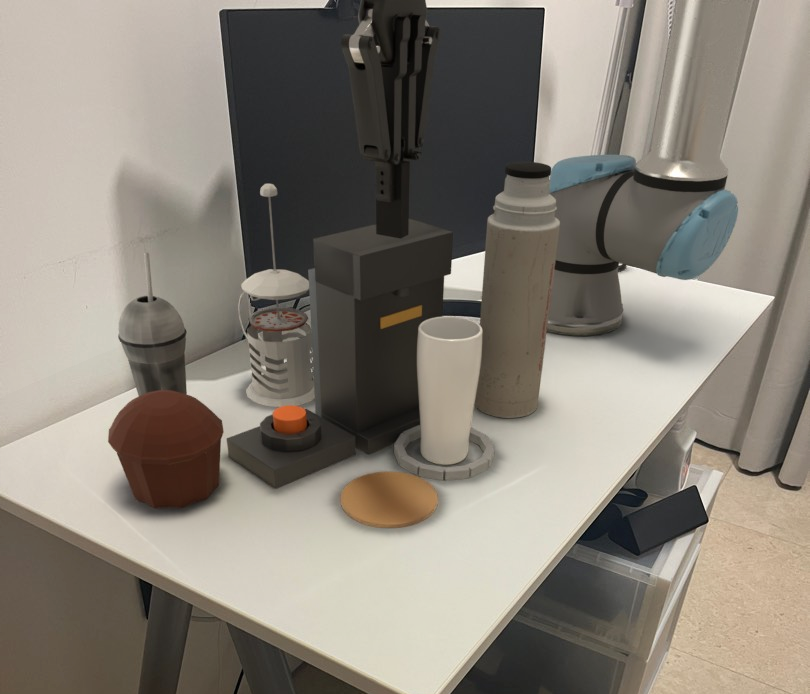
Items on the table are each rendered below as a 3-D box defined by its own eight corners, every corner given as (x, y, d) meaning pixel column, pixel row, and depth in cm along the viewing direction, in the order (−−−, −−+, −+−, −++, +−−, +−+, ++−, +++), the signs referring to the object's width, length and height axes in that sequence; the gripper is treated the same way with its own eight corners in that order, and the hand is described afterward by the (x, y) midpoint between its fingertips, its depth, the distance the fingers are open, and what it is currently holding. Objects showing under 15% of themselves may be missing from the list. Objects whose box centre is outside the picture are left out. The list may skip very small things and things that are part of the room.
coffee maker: (389, 390, 107) (390, 212, 94) (518, 454, 94) (540, 259, 81) (308, 420, 100) (298, 233, 87) (437, 495, 87) (447, 288, 74)
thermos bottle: (539, 393, 107) (568, 159, 90) (535, 421, 100) (565, 175, 84) (478, 386, 108) (495, 154, 92) (470, 414, 102) (487, 170, 85)
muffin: (250, 493, 86) (241, 406, 81) (150, 530, 81) (133, 440, 75) (196, 448, 94) (184, 365, 88) (102, 479, 88) (82, 393, 82)
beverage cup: (123, 435, 96) (87, 261, 84) (159, 408, 101) (130, 242, 90) (177, 447, 94) (149, 271, 82) (211, 419, 99) (189, 250, 88)
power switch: (307, 426, 98) (305, 395, 96) (356, 455, 93) (355, 423, 91) (228, 457, 92) (224, 425, 90) (275, 489, 87) (273, 456, 85)
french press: (279, 416, 100) (262, 199, 86) (220, 386, 107) (194, 180, 92) (338, 390, 106) (331, 184, 92) (279, 364, 113) (263, 167, 98)
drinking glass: (429, 475, 90) (434, 344, 81) (404, 446, 95) (406, 320, 86) (484, 463, 92) (495, 334, 83) (457, 436, 97) (465, 312, 88)
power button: (293, 416, 93) (292, 402, 92) (313, 427, 91) (312, 413, 90) (267, 426, 91) (266, 411, 90) (286, 438, 89) (285, 423, 88)
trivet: (392, 466, 91) (392, 461, 91) (457, 503, 86) (457, 498, 85) (321, 498, 86) (320, 493, 85) (385, 541, 80) (385, 536, 80)
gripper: (394, -72, 71) (392, 213, 85) (307, -75, 62) (321, 245, 76) (473, -71, 68) (457, 224, 82) (394, -74, 59) (391, 259, 73)
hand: (392, 234), depth 79 cm, fingers closed
